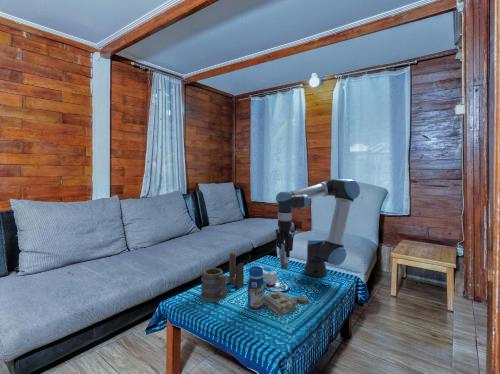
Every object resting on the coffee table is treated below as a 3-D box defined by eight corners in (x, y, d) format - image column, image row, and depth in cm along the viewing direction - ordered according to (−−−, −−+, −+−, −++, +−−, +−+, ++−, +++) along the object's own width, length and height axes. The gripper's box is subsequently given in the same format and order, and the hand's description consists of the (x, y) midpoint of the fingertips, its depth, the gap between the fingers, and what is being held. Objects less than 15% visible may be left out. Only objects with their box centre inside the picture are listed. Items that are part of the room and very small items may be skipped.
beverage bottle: (254, 301, 142) (254, 264, 141) (267, 307, 137) (267, 268, 136) (243, 308, 136) (244, 268, 134) (256, 314, 130) (257, 273, 129)
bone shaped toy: (252, 280, 172) (251, 267, 171) (262, 275, 177) (261, 263, 176) (269, 288, 160) (268, 275, 159) (279, 282, 166) (278, 270, 165)
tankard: (196, 295, 149) (196, 268, 148) (216, 289, 157) (216, 263, 156) (216, 310, 133) (216, 280, 132) (237, 302, 141) (237, 274, 140)
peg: (284, 266, 155) (284, 242, 154) (288, 268, 152) (288, 243, 151) (279, 267, 153) (279, 243, 152) (283, 269, 150) (283, 244, 149)
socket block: (278, 297, 147) (279, 291, 147) (296, 308, 136) (296, 301, 136) (262, 302, 142) (262, 296, 141) (279, 314, 130) (279, 307, 130)
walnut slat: (307, 301, 145) (307, 297, 144) (308, 303, 142) (308, 300, 141) (290, 300, 145) (290, 297, 145) (290, 303, 142) (290, 299, 142)
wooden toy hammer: (238, 287, 159) (239, 257, 157) (227, 282, 167) (228, 253, 166) (243, 286, 161) (244, 256, 160) (232, 280, 169) (232, 252, 168)
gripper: (270, 218, 155) (269, 258, 157) (289, 223, 141) (288, 267, 143) (280, 216, 159) (279, 256, 161) (300, 221, 145) (299, 264, 147)
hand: (284, 261), depth 152 cm, fingers closed on peg, 3 cm apart
